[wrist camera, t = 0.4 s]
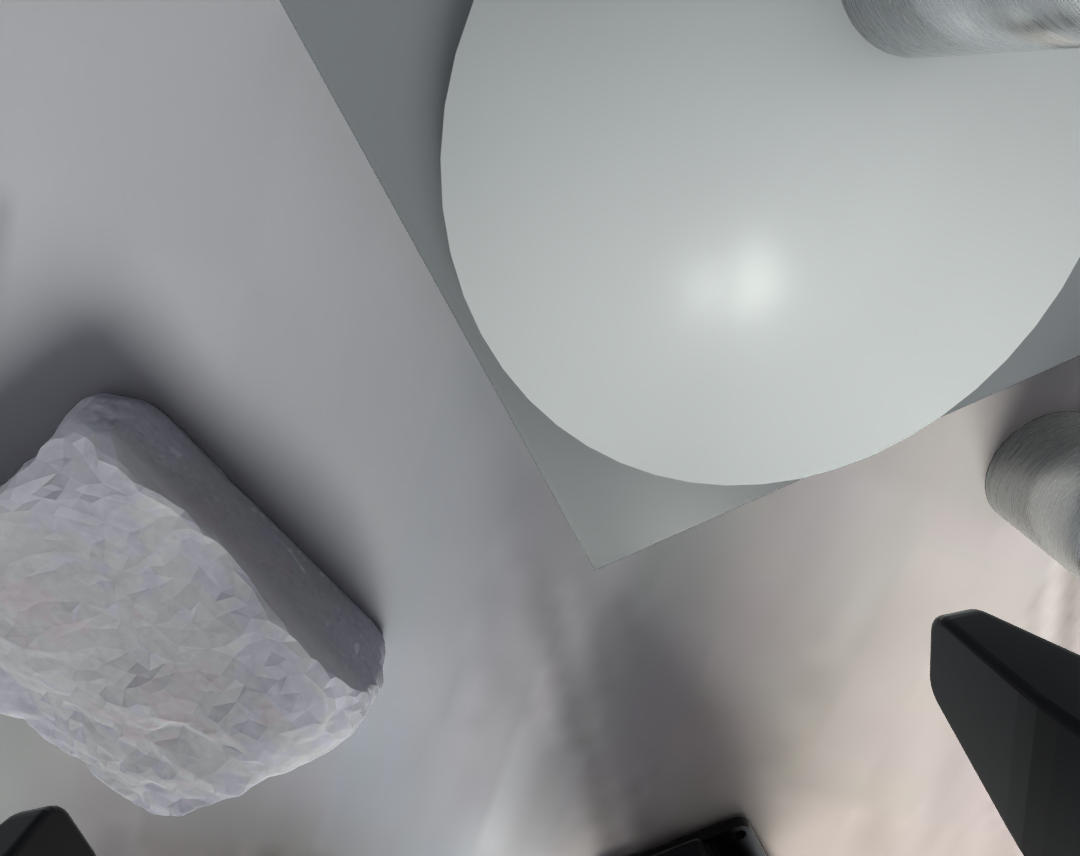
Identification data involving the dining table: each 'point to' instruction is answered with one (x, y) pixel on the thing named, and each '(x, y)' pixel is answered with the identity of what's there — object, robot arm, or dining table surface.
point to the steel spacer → (1041, 485)
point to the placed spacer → (965, 26)
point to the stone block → (168, 617)
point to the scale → (715, 230)
